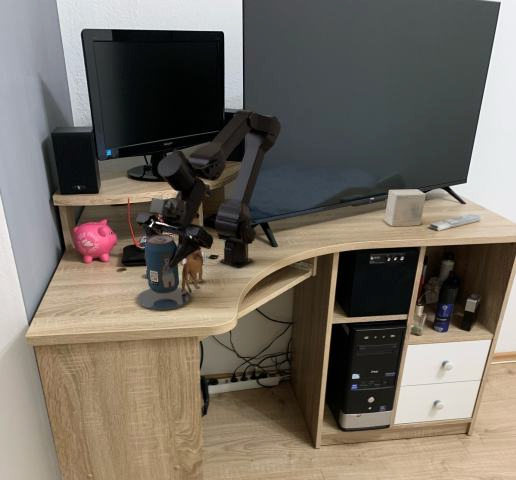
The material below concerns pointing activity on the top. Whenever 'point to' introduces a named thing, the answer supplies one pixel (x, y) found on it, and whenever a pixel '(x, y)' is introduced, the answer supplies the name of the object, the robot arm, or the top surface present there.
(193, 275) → the lion figurine
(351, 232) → the top surface
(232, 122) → the robot arm
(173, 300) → the coaster
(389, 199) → the cosmetics box
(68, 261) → the top surface
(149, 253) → the soda can
